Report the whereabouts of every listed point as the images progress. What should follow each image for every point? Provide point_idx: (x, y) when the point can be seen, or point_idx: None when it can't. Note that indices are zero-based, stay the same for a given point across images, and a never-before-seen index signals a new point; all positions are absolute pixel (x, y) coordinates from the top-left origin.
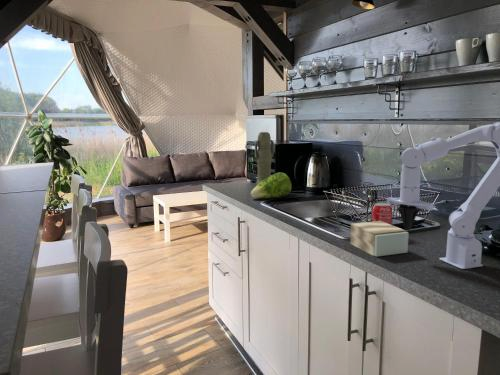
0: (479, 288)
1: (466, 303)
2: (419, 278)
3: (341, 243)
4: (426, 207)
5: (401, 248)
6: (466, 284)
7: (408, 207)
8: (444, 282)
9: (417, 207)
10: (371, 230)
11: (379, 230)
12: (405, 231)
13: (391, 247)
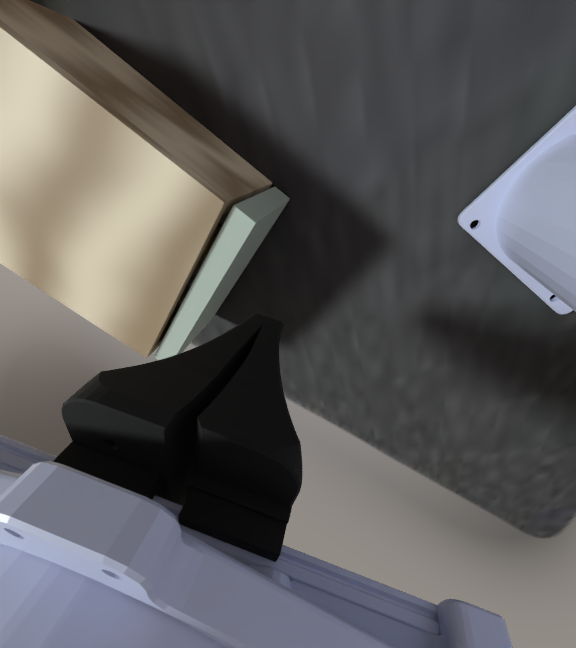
0: (570, 446)
1: (499, 511)
2: (383, 426)
3: None
4: (407, 642)
5: (262, 235)
6: (531, 431)
7: (173, 489)
8: (457, 433)
9: (283, 565)
10: (99, 310)
11: (121, 292)
12: (227, 203)
13: (231, 283)
